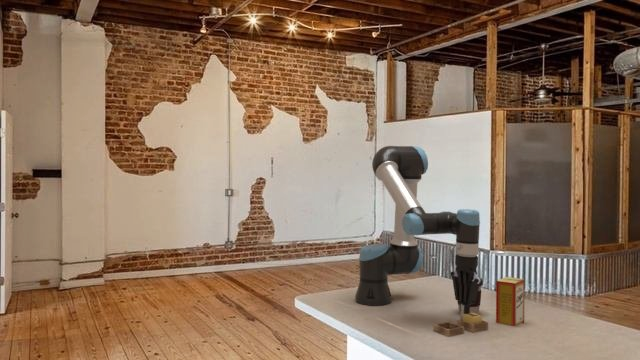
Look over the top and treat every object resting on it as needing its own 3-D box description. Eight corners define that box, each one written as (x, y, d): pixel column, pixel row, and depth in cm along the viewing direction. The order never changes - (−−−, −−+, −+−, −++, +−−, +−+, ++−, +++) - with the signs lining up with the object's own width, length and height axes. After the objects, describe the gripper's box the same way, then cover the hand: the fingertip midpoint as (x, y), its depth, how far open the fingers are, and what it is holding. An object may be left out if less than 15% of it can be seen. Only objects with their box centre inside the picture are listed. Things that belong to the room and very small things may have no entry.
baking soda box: (514, 328, 179) (514, 282, 179) (496, 325, 183) (496, 279, 183) (524, 322, 186) (524, 278, 186) (506, 319, 190) (506, 275, 190)
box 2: (457, 328, 178) (457, 319, 178) (472, 325, 181) (472, 317, 181) (472, 334, 171) (472, 325, 171) (488, 331, 175) (488, 322, 175)
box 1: (433, 333, 173) (433, 324, 173) (449, 330, 177) (449, 321, 177) (448, 339, 167) (448, 330, 167) (464, 336, 171) (464, 327, 171)
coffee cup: (483, 319, 190) (484, 278, 189) (455, 318, 192) (456, 277, 191) (481, 312, 199) (481, 273, 199) (454, 311, 201) (454, 272, 201)
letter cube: (462, 327, 177) (462, 313, 177) (472, 325, 179) (472, 312, 179) (472, 331, 173) (472, 317, 173) (482, 329, 176) (482, 315, 175)
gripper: (445, 252, 182) (443, 318, 183) (472, 258, 171) (469, 329, 172) (461, 250, 186) (459, 316, 187) (488, 257, 175) (485, 326, 176)
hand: (464, 322), depth 179 cm, fingers closed
